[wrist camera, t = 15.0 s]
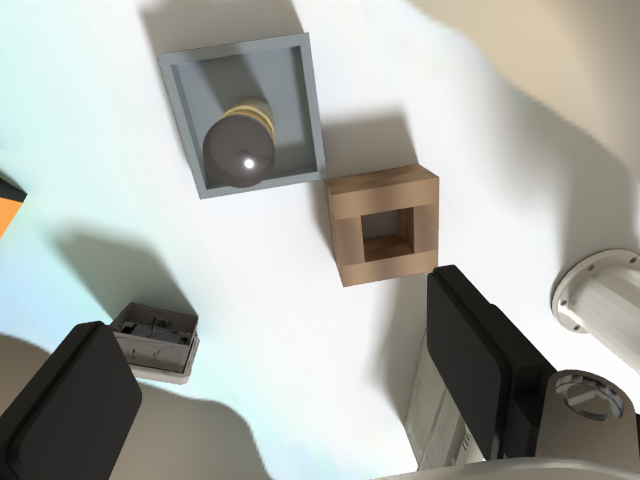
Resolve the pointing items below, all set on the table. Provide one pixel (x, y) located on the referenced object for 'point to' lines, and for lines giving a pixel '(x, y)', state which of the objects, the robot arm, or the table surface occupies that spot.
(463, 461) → the geiger counter
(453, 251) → the table surface
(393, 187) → the brown square frame
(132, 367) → the electrical switch
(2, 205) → the pan flute
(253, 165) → the brass pin
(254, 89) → the parts tray
